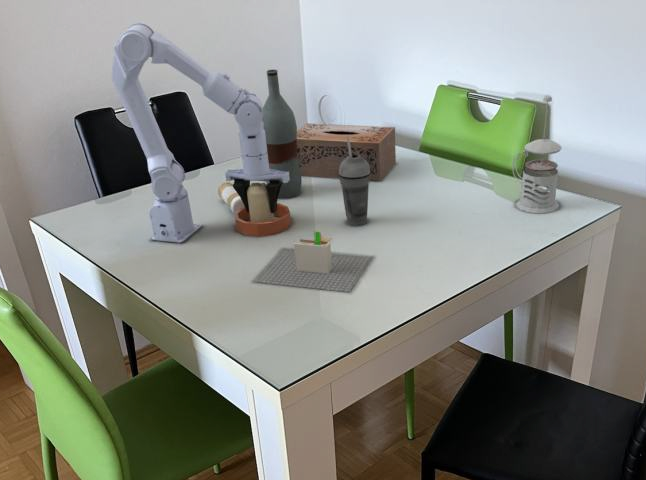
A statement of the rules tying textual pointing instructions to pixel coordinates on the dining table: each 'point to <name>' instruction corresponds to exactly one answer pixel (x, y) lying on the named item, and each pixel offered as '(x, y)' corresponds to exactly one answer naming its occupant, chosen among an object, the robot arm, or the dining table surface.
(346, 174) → the beverage cup
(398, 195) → the dining table surface
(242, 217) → the orange faceted bracelet
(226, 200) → the sprinkles bottle
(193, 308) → the dining table surface
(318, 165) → the tissue box cover
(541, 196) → the french press
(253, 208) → the candle
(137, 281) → the dining table surface
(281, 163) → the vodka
